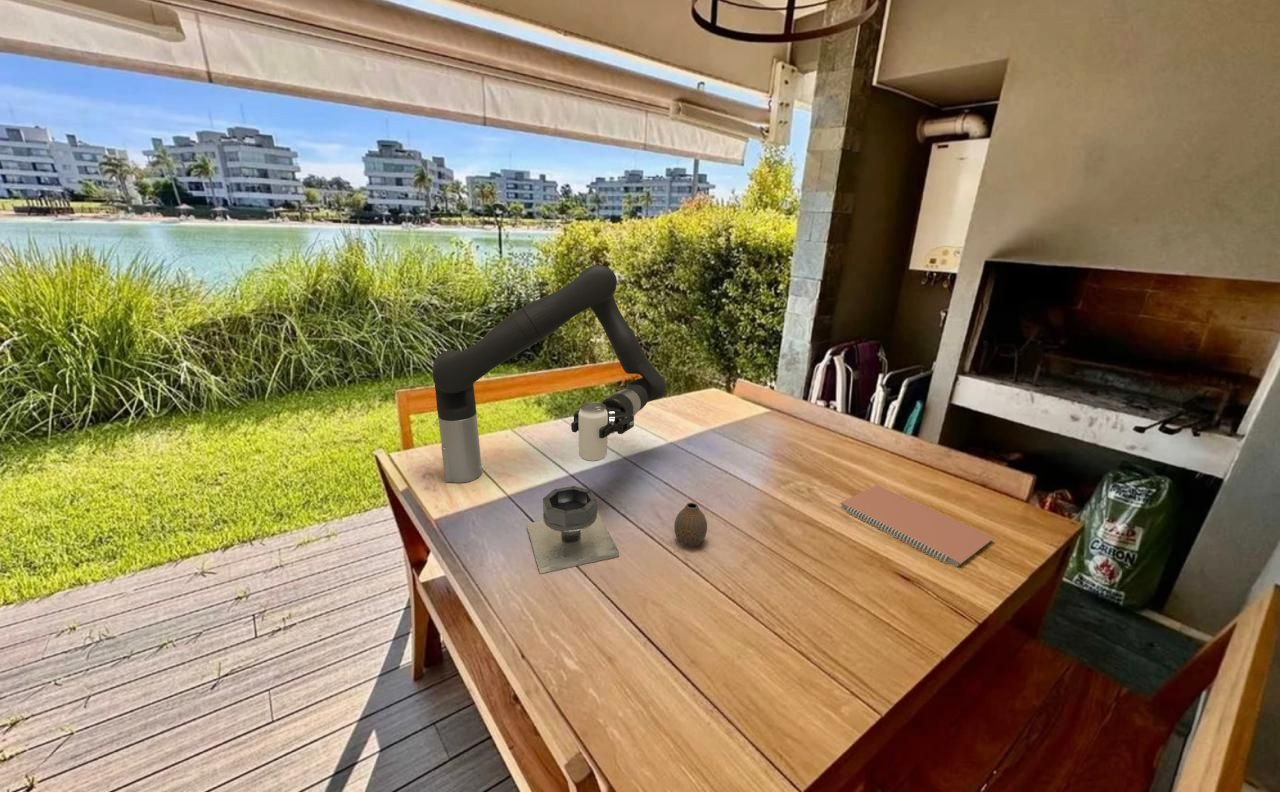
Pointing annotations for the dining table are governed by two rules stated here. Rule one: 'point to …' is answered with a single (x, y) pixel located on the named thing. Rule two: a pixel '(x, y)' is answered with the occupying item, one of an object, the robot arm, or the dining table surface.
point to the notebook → (917, 525)
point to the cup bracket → (570, 531)
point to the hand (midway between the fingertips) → (586, 431)
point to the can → (592, 431)
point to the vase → (690, 525)
